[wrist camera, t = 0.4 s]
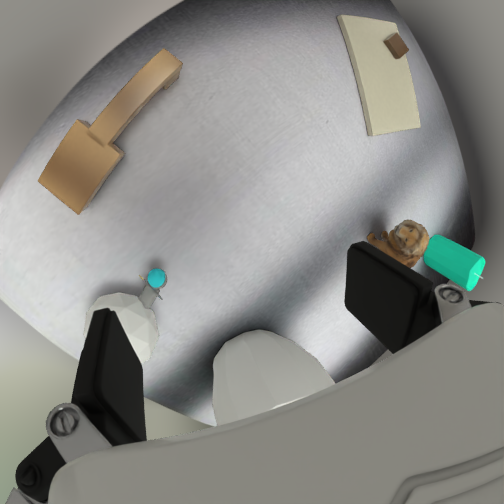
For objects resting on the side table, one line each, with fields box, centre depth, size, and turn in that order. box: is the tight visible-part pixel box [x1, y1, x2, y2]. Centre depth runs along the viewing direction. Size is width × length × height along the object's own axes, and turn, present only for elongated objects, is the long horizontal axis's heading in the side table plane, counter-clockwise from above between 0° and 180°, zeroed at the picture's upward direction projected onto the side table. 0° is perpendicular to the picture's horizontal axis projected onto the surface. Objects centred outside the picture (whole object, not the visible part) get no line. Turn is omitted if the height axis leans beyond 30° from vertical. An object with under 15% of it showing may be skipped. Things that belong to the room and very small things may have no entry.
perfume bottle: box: [84, 269, 167, 364], centre depth 24 cm, size 8×8×12 cm
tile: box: [337, 15, 420, 136], centre depth 25 cm, size 16×10×1 cm, turn 16°
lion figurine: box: [367, 220, 429, 268], centre depth 32 cm, size 15×5×9 cm, turn 177°
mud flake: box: [383, 32, 409, 59], centre depth 23 cm, size 3×3×1 cm
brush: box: [38, 48, 183, 215], centre depth 19 cm, size 14×5×5 cm, turn 136°
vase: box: [212, 329, 335, 426], centre depth 25 cm, size 14×14×25 cm
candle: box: [424, 235, 485, 291], centre depth 36 cm, size 6×6×12 cm
